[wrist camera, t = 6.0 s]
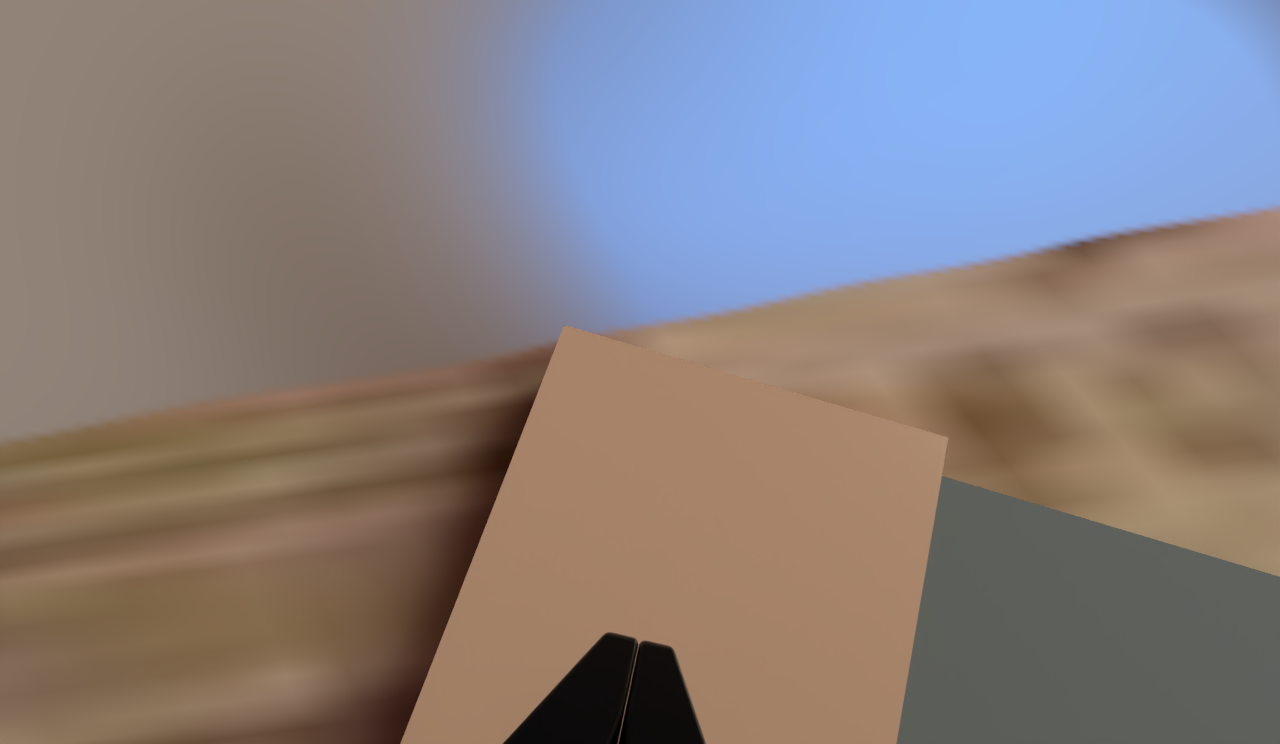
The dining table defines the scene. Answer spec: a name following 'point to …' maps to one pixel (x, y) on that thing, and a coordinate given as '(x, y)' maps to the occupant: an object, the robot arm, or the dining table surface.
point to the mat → (1084, 634)
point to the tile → (695, 553)
